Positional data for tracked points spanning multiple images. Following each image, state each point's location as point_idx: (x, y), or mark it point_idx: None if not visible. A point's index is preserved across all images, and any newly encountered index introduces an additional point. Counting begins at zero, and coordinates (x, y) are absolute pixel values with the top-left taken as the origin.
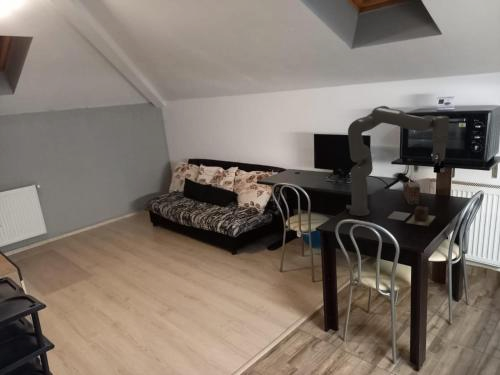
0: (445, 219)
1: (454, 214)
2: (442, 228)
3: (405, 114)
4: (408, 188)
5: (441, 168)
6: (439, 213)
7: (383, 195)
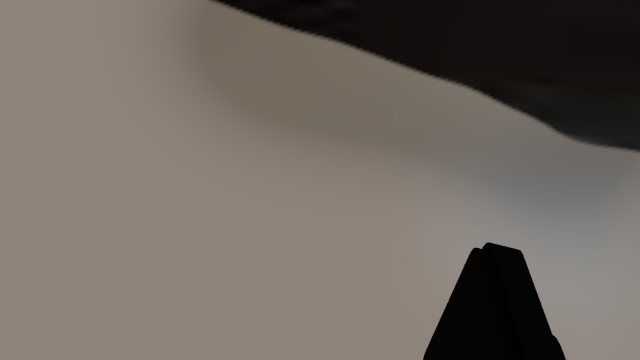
0: (464, 54)
1: (592, 131)
2: (249, 14)
3: None
4: None
5: (433, 337)
6: (627, 19)
7: None
